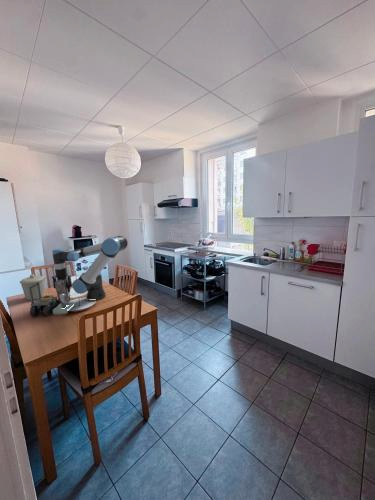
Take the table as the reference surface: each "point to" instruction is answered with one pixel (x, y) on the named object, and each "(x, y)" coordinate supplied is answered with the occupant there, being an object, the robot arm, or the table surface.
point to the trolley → (42, 303)
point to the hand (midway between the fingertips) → (64, 295)
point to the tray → (62, 311)
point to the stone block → (62, 289)
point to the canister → (31, 281)
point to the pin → (62, 300)
